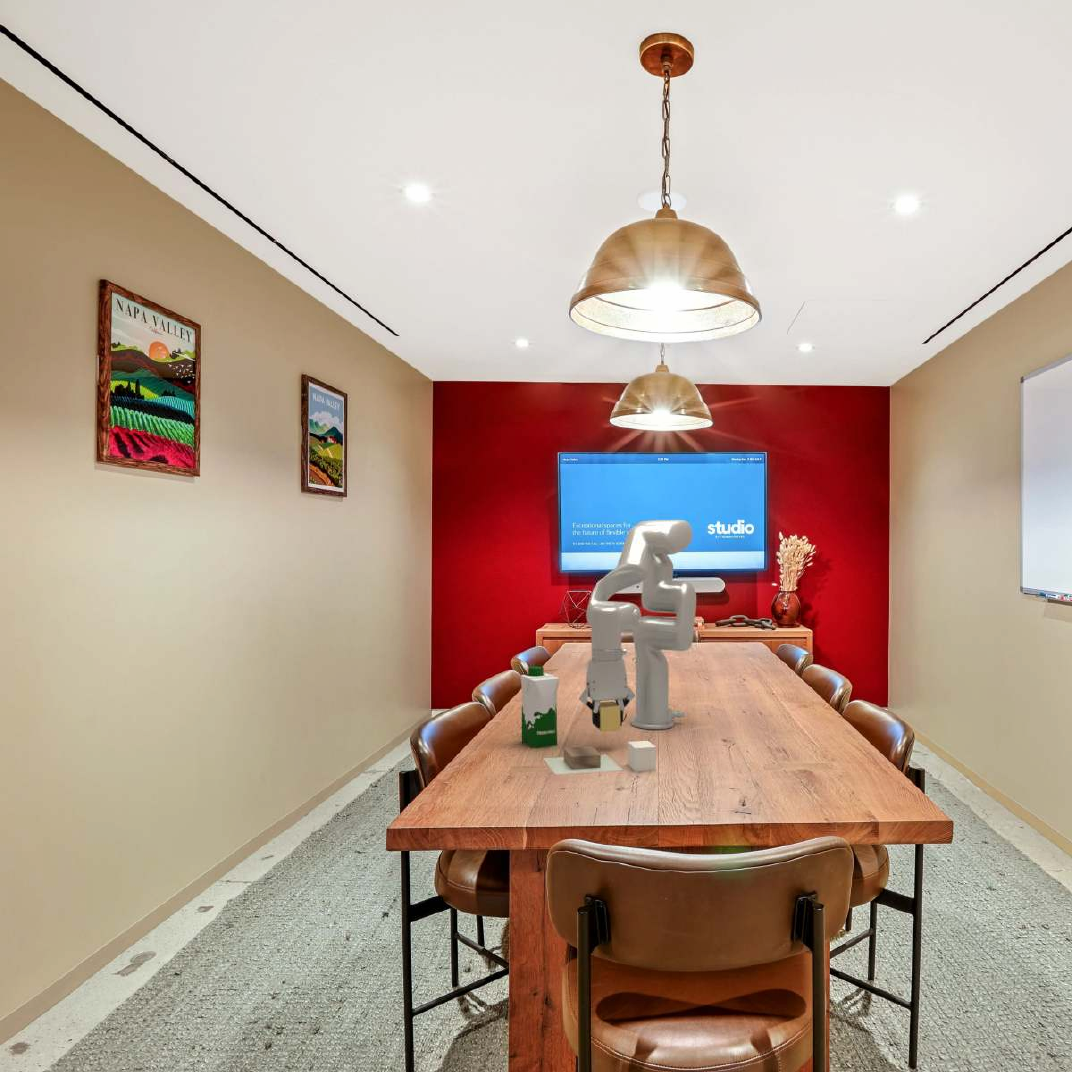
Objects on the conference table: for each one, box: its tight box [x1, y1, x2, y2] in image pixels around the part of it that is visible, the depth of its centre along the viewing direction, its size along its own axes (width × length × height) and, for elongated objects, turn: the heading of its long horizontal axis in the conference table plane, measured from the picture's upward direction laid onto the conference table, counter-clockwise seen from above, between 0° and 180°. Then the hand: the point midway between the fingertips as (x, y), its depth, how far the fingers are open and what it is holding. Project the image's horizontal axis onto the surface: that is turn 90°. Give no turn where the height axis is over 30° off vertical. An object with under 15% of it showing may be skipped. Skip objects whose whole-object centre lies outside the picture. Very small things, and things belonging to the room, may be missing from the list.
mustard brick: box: [597, 700, 621, 733], centre depth 175 cm, size 5×5×6 cm
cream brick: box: [627, 740, 657, 772], centre depth 160 cm, size 5×5×6 cm
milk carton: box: [520, 665, 560, 749], centre depth 180 cm, size 9×9×20 cm
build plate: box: [543, 754, 623, 776], centre depth 163 cm, size 16×12×1 cm
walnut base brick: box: [563, 745, 602, 770], centre depth 163 cm, size 7×7×3 cm
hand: (607, 725), depth 175 cm, fingers closed on mustard brick, 5 cm apart
